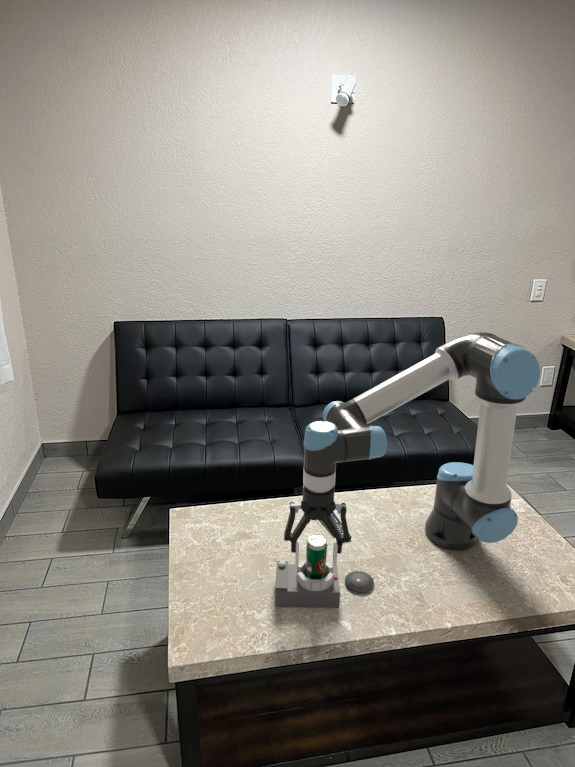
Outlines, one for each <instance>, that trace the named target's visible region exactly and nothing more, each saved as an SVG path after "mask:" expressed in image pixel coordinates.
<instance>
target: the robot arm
mask: <svg viewBox="0 0 575 767" xmlns="http://www.w3.org/2000/svg"><path fill="white" fill-rule="evenodd" d="M465 376H466V377H467V376H471V377H473V378H474V379H476V380H475V388H474V389H475V390H474V395H475V397H476V398H477V399H478V400H479V401H480V404H479V413H478V414H479V415H478V421H477V422H478V424H477V432H476V441H475V450H474V458H473V464H471V463H468V462H467V463H465V462H460V461H459V462H456V461H455V462H448V463H445V464H442V465H441V466H440V467H439V469H438V473H437V475H436V486H435V496H434V503H433V508H432V509H431V512H430V513H429V514H428V517H427V519H426V520H425V523H424V524H425V525H424V533H425V535H426V537H427V538H428V540H429V541H431V542H432V543H433V544H435V545H437V546H439V547H441V548H444V549H449V550H455V551H456V550H457V551H461V550H462V551H463V550H466V549H470V548H472V547H473V546H474V545H476V542H477V539H479V540H480V541H481V542H483V543H487V544H493V543H498V542H500V541H502V540H505V539H506V538H507V537H509V536H510V535H511V534H512V533H513V532H514V531H515V529H516V528H517V525H518V522H519V517H518V514H517V513H516V510H515V509H513V508H512V507H511V504H512V503H511V502H512V495H513V494H512V490H511V489H510V488H509V487H508V485H507V484H508V478H509V471H510V464H511V458H512V457H511V455H512V449H513V442H514V435H515V427H516V420H517V413H518V406H519V405H521V404H522V403H524V402H525V401H526V398H527V397H529V396H530V395H531V394H532V393H533V391H534V390H533V389H535V388H537V387H538V383H539V382H540V378H541V367H540V363H539V360H538V359H537V357H536V356H535V355H534V353H532V352H531V351H530V350H528V349H526V348H525V346H522V345H520V344H516V343H513V342H511V341H508V340H507V339H504V338H503V337H502V338H501V337H500V336H498V335H496V334H493V333H490V332H487V331H486V332H483V331H480V332H479V331H478V332H472V333H468V334H465V335H462V336H459V337H456V338H455V339H452V340H449V341H448V342H446V343H444V344H442V345H440V346H439V347H436V349H435V352H434V354H432V355H430V356H429V357H426V358H425V359H423V360H421V361H419V362H417V363H416V364H414V365H412V366H410V367H408V368H407V369H405V370H403V371H400V372H399V373H397V374H395V375H393V376H392V377H390V378H388V379H386V380H385V381H384V380H383V382H381V383H379V384H378V385H374V386H373V387H372V388H370V389H368V390H367V391H364V392H363V393H361V394H359V395H358V396H355V397H354V398H352V399H350V400H348V401H346V402H343V401H341V400H336V401H335V400H334V401H331V402H330V403H328V404H327V405H326V406H325V407H324V409H323V412H322V420H323V421H322V420H317V421H316V420H315V421H312V422H310V423H309V424H308V425H306V427H305V432H304V439H303V472H302V473H303V474H302V475H303V476H302V483H303V485H302V500H301V501H300V502H298V503H295V502H294V501H291V502H289V513H288V518H287V522H286V526H285V528H284V533H283V540H284V542H288V541H289V542H290V552H291V553H292V554H293V553H295V563H294V564H295V565H298V564H299V563H300V562H299V561H300V559H299V557H300V556H299V555H300V554H299V553H300V536H301V535H302V534H303V531H305V529H306V527H307V525H309V523H310V521H316V520H317V521H325V523H326V525H328V527H329V529H330V531H331V533H332V535H333V537H334V538H333V546H332V548H333V550H332V565H333V566H337V567H338V563H337V561H338V554H342V552H343V544H344V543H349V542H350V541H351V538H350V532H349V527H348V521H347V518H346V517H347V516H346V515H347V511H348V509H347V503H345V502H342V503H336V502H335V492H336V491H335V486H336V470H337V463H345V462H347V463H348V462H355V461H364V460H365V461H366V460H372V459H377V458H381V457H383V456H384V455H386V452H387V450H388V439H387V438H388V437H387V435H386V432H385V430H384V429H383V428H382V427H381V426H379V425H369V426H367V425H368V424H370V423H372V422H374V421H376V420H377V419H380V418H382V417H383V416H384V415H386V414H388V413H390V412H392V411H393V410H395V409H397V408H399V407H401V406H402V405H405V404H406V403H409V402H410V401H412V400H414V399H416V398H418V397H419V396H421V395H423V394H424V393H427V392H429V391H431V390H432V389H434V388H436V387H438V386H439V385H442V384H443V383H445V382H448V380H451V381H457V380H458V379H460V378H463V377H465ZM300 509H301V510H302V512H303V514H302V517H301V518H300V520H299V522H298V523H297V525H296V527H295V528H294V529H293V526H294V522H295V519H296V515H297V514H298V513H299V511H300ZM335 510H336V511H337V512H336V513H337V514H338V515H339V516H340V522H341V527H342V528H341V529H342V532H343V533H341V531H340V529H339V528H338V526H337V523H336V522H335V520H334V518H333V516H332V513H333V512H335ZM292 530H293V531H292Z"/></svg>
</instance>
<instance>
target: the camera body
mask: <svg viewBox="0 0 575 767" xmlns="http://www.w3.org/2000/svg"><path fill="white" fill-rule="evenodd" d="M338 569H339V568H338V565H337V566H333V564H332V563H331V562H330V561H328V560H327V559H326V574H325V578H323V579H320V580H312V579H310V578H307V577H306V558H305V559H302V560H301V561H300V562H299V564H298V565H295V563H289V560H276V567H275V570H276V571H275V588H274V595H275V596H274V599H275V600H274V602H275V603H274V604H275V605H274V607H276V608H300V609H301V608H305V609H306V608H311V609H312V608H314V609H340V603H341V602H340V600H341V588H340V579H339V570H338Z"/></svg>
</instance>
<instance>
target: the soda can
mask: <svg viewBox="0 0 575 767" xmlns="http://www.w3.org/2000/svg"><path fill="white" fill-rule="evenodd" d="M305 550H306V551H305V552H306V553H305V554H306V555H305V559H306V577H307V578H310V579H312V580H320V579H323V578H325V574H326V560H327V553H328V543H327V540H326V538H325V537H324V536H323V535H320V534H313V535H311V536H309V537H308V539H307V541H306V549H305Z"/></svg>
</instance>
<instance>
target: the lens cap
mask: <svg viewBox="0 0 575 767" xmlns="http://www.w3.org/2000/svg"><path fill="white" fill-rule="evenodd" d="M344 585H345V587H346V588H347V589H348V590H349V591H350V592H352V593H354V594H359V595H362V594H363V595H365V594H367V593H370V592H371V591H373V589H374V585H375V580H374V579H373V577H372V576H371V575H370V574H368V573H367V572H365V571H361V570H354V571H351V572H349V573H347V575H345V579H344Z"/></svg>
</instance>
